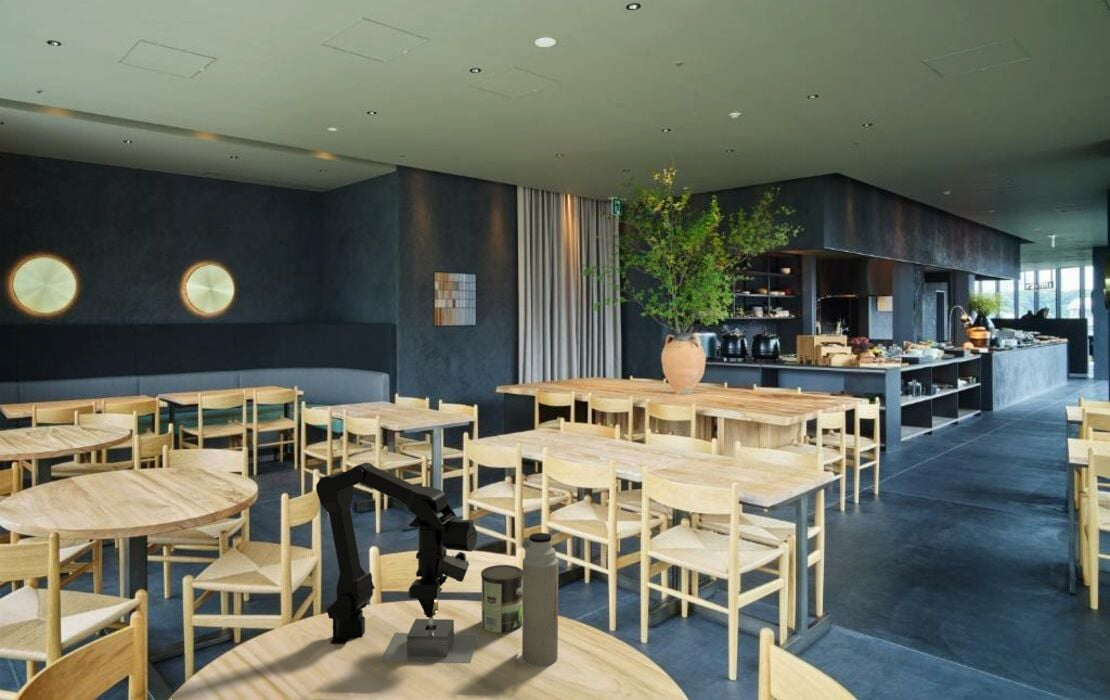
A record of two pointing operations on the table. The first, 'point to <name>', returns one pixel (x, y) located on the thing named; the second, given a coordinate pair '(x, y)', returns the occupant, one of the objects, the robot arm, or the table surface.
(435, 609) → the golden knob
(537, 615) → the thermos bottle
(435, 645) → the grey knob block
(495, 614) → the coffee can
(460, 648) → the slate board
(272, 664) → the table surface
